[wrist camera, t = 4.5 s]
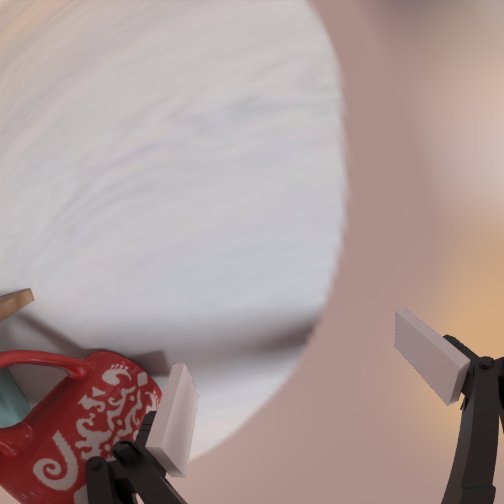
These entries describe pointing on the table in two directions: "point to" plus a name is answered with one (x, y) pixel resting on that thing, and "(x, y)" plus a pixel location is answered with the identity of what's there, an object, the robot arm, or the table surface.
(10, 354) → the mug
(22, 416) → the dock
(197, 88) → the table surface
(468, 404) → the robot arm
